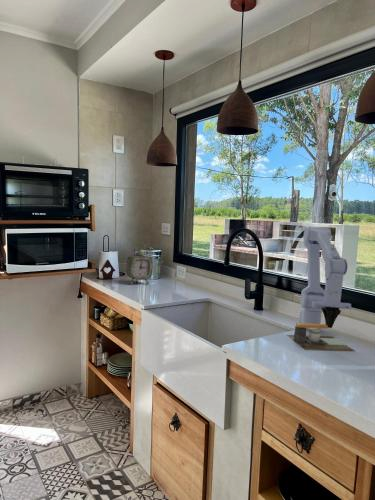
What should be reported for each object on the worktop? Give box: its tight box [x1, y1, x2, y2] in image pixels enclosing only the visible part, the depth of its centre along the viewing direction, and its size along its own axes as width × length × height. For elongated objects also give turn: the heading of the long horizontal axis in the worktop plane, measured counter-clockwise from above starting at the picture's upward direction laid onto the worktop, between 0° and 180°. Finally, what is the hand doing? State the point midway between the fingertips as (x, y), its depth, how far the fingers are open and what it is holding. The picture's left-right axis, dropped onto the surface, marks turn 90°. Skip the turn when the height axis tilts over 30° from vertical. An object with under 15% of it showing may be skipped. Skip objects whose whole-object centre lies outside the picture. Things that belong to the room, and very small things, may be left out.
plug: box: [307, 328, 321, 342], centre depth 136 cm, size 4×4×5 cm
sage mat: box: [320, 337, 348, 346], centre depth 138 cm, size 7×7×1 cm
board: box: [286, 325, 356, 352], centre depth 136 cm, size 16×19×6 cm
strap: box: [295, 322, 329, 329], centre depth 135 cm, size 2×12×1 cm, turn 98°
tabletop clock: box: [125, 243, 154, 286], centre depth 226 cm, size 14×9×25 cm, turn 119°
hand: (328, 327), depth 136 cm, fingers closed
